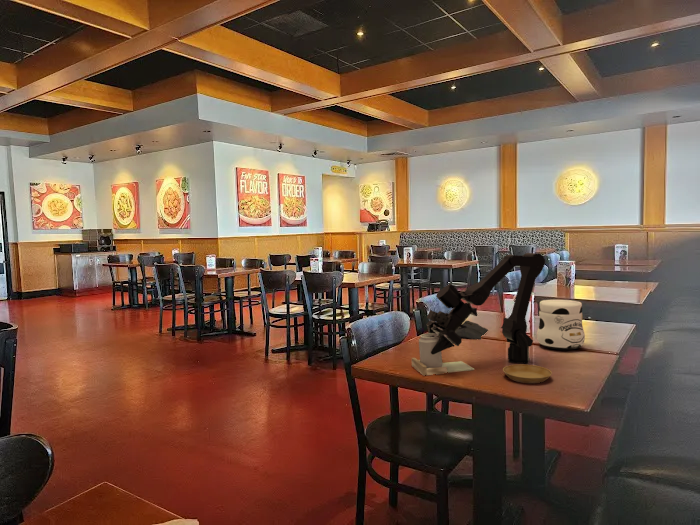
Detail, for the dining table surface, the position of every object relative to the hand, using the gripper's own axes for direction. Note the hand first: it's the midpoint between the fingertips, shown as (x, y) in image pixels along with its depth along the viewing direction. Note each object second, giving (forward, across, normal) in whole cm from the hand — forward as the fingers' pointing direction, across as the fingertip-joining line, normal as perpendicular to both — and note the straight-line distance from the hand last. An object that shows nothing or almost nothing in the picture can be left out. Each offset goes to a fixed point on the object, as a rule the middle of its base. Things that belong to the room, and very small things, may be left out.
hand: (427, 350), depth 167 cm
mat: (-2, 0, +12) cm, 12 cm away
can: (+4, 0, +6) cm, 7 cm away
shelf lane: (+4, 0, +6) cm, 7 cm away
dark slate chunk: (-22, -47, +32) cm, 61 cm away
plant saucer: (-14, +18, +24) cm, 33 cm away
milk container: (-38, -13, +48) cm, 62 cm away
